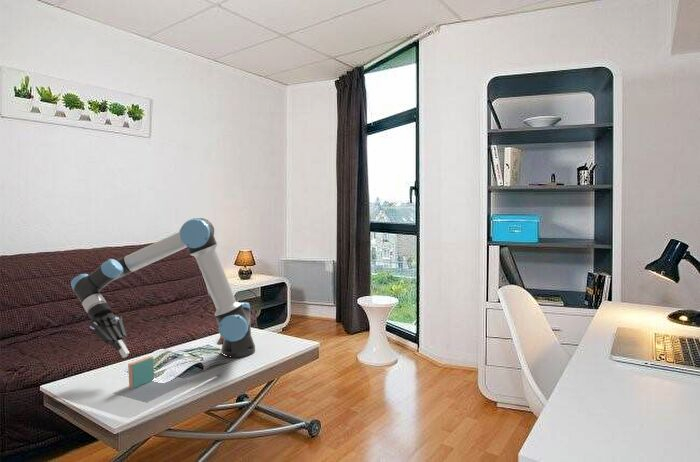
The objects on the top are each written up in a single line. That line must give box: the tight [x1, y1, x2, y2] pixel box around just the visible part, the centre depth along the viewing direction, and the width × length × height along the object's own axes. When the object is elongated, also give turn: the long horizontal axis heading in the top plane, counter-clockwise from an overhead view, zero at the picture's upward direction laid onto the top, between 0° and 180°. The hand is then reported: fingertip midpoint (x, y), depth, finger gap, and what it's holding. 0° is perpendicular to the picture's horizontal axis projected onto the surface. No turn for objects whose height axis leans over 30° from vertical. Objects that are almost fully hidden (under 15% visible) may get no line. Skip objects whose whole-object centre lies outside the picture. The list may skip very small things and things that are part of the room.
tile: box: [127, 355, 155, 389], centre depth 160 cm, size 2×9×9 cm, turn 153°
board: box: [113, 376, 193, 403], centre depth 158 cm, size 18×20×1 cm
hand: (126, 355), depth 163 cm, fingers closed
